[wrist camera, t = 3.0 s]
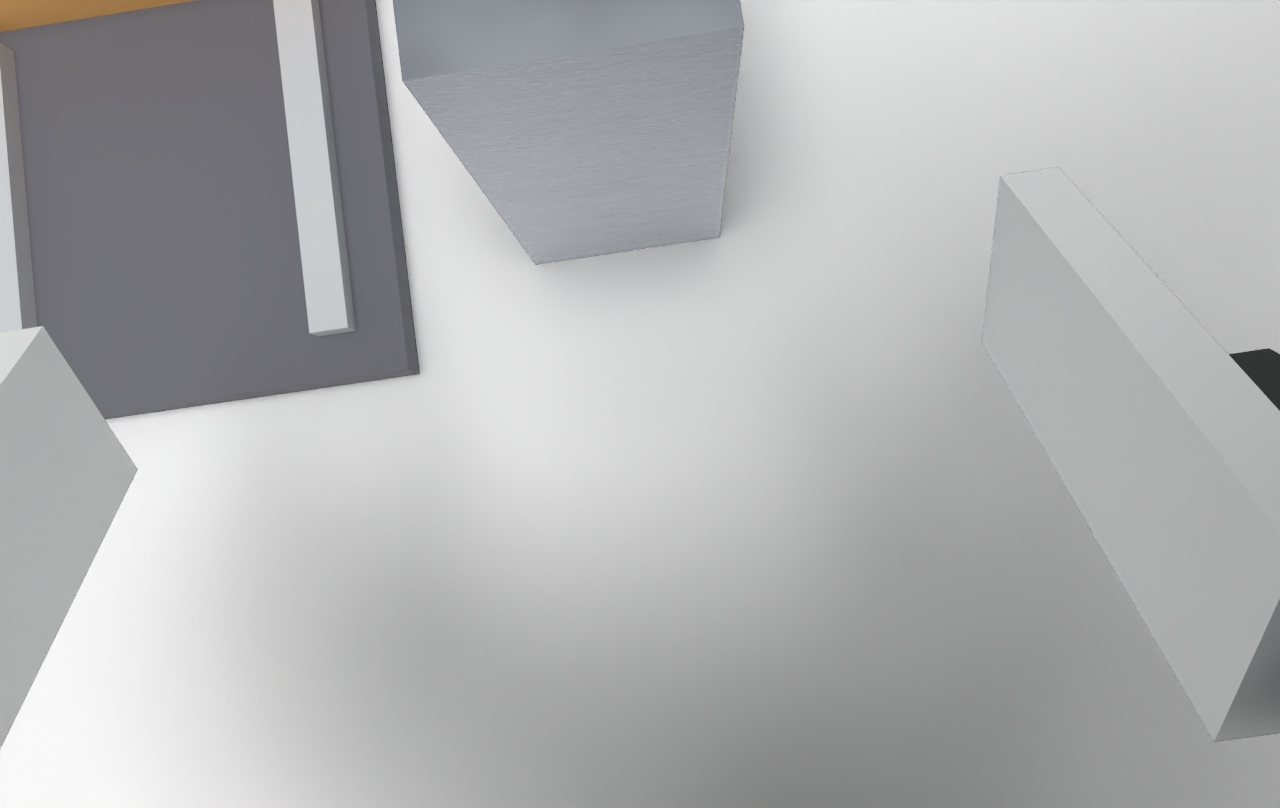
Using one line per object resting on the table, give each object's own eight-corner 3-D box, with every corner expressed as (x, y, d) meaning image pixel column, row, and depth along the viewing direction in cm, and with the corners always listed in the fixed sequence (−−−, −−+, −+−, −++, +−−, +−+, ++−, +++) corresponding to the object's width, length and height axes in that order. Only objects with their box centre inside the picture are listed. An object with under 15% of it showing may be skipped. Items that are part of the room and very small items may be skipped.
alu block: (681, -20, 26) (673, -435, 14) (719, 237, 26) (743, 27, 14) (502, 9, 26) (347, -377, 15) (535, 264, 26) (402, 80, 14)
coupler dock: (369, -49, 27) (312, -141, 23) (419, 373, 26) (369, 354, 22) (-43, 18, 27) (-168, -60, 23) (-10, 435, 26) (-135, 427, 22)
